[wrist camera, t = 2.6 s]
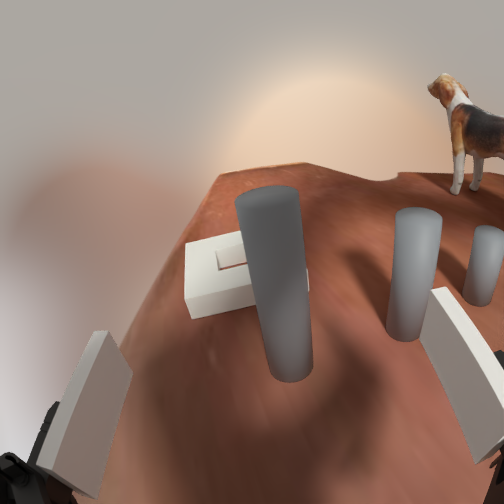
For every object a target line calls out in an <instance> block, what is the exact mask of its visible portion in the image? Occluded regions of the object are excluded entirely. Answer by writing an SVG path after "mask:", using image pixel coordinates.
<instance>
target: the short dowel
mask: <svg viewBox="0 0 504 504" xmlns="http://www.w3.org/2000/svg"><path fill="white" fill-rule="evenodd" d="M503 257H504V232H503V231H502V230H500V229H498V228H496V227H493V226H488V225H481V226H478V227H476V228H475V232H474V238H473V244H472V250H471V255H470V260H469V264H468V269H467V274H466V278H465V282H464V286H463V290H462V296H463V298H464V299H465V300H466V301H467V302H468V303H469V304H471V305H474V306H478V307H482V306H486V305H488V304H489V303H490V302H491V299H492V296H493V292H494V289H495V286H496V283H497V279H498V276H499V272H500V268H501V264H502V261H503Z"/></svg>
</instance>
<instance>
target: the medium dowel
mask: <svg viewBox="0 0 504 504" xmlns="http://www.w3.org/2000/svg"><path fill="white" fill-rule="evenodd" d="M441 229H442V217H441V216H440V215H439V214H438V213H437V212H435V211H433V210H430V209H426V208H420V207H408V208H404V209H401V210H399V211H398V212H397V213H396V216H395V239H394V255H393V268H392V279H391V289H390V298H389V306H388V314H387V321H386V331H387V333H388V334H389V336H391V337H392V338H393V339H395V340H398V341H401V342H410V341H414V340H416V339H417V338H419V337H420V333H421V329H422V326H423V321H424V317H425V313H426V309H427V304H428V300H429V295H430V290H432V288H433V283H434V277H435V271H436V265H437V259H438V252H439V245H440V238H441Z"/></svg>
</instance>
